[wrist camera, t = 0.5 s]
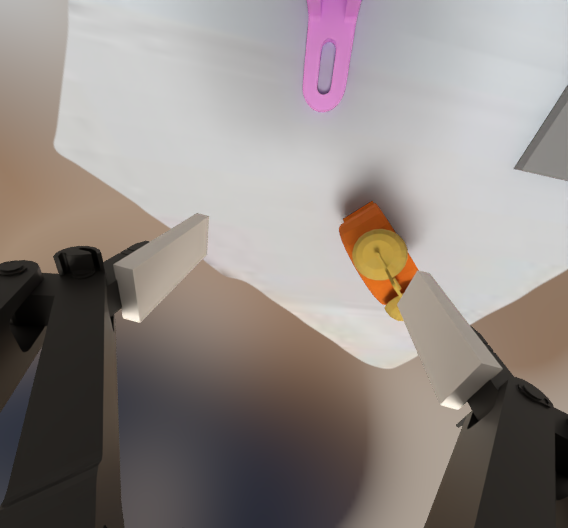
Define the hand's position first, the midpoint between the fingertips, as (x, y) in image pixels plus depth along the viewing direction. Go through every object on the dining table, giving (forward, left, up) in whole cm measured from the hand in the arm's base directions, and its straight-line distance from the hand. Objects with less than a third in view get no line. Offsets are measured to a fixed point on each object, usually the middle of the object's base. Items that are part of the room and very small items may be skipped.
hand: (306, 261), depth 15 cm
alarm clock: (+6, +11, -27) cm, 30 cm away
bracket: (-16, -3, -27) cm, 32 cm away
